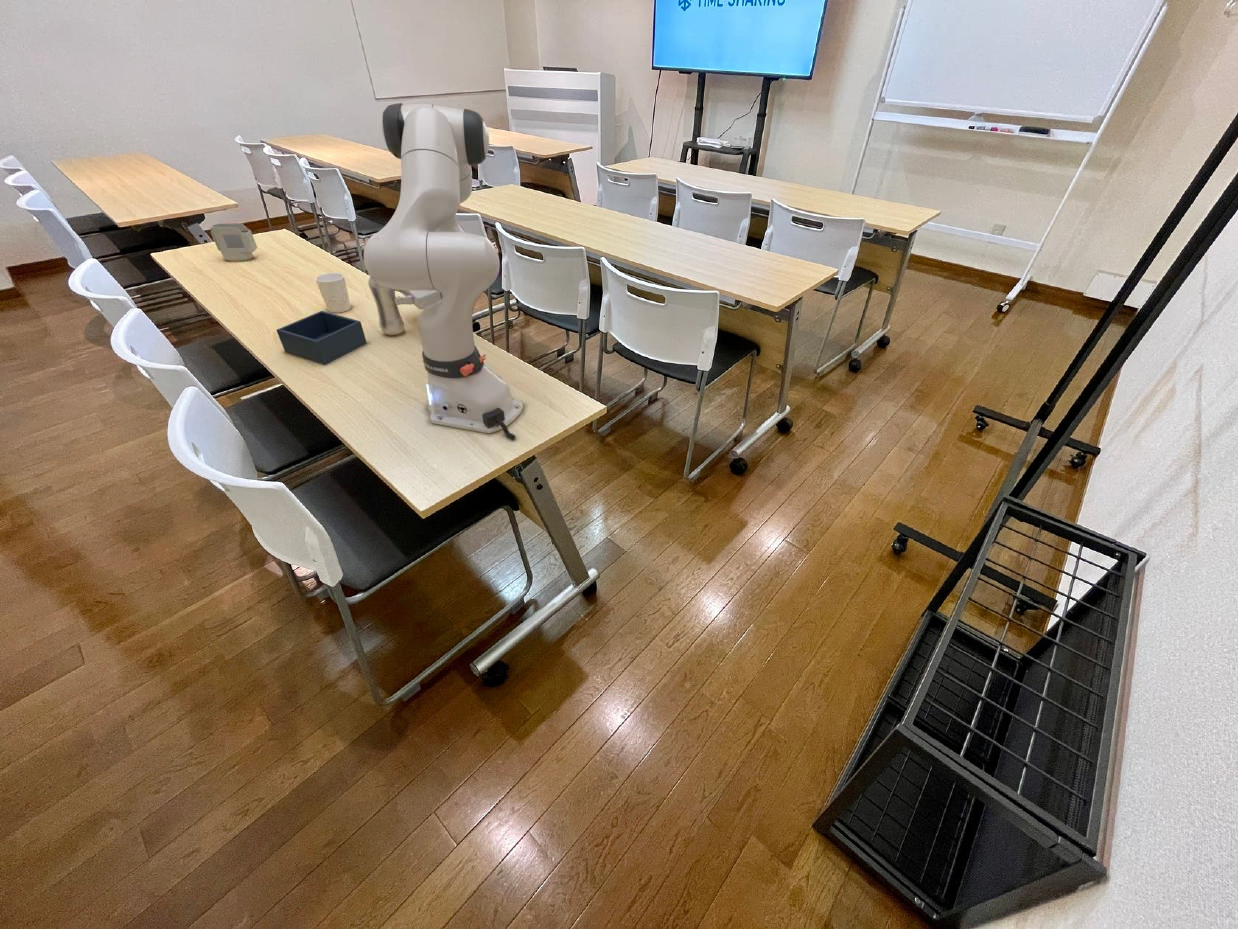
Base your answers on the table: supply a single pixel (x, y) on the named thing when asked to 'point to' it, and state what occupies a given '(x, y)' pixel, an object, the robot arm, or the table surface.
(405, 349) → the table surface
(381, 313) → the metal water bottle
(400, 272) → the robot arm
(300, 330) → the tub
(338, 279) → the white cup
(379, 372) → the table surface
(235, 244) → the cable organizer
